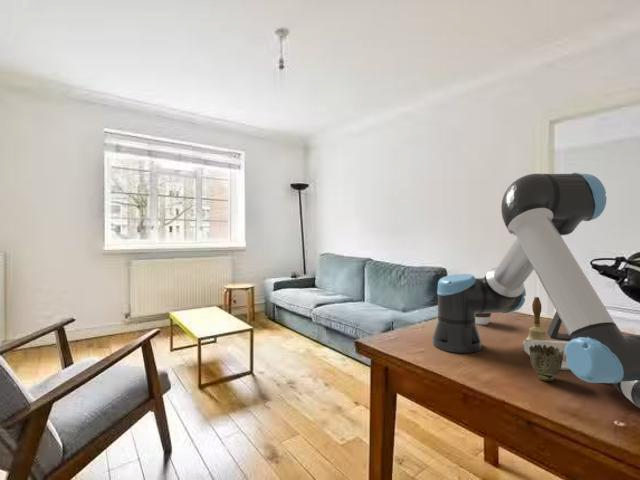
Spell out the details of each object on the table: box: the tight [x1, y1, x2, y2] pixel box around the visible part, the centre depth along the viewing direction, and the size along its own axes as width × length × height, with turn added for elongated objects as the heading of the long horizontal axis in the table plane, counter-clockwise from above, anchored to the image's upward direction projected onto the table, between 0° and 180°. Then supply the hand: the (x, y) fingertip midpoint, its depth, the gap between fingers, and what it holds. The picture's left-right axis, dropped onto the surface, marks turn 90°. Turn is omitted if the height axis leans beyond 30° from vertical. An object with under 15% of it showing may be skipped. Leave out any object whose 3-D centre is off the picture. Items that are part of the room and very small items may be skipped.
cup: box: [529, 344, 564, 382], centre depth 89 cm, size 8×7×8 cm
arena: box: [523, 339, 571, 371], centre depth 101 cm, size 16×14×4 cm
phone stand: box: [546, 310, 571, 341], centre depth 121 cm, size 9×6×12 cm, turn 66°
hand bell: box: [522, 296, 549, 345], centre depth 114 cm, size 8×8×16 cm
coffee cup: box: [475, 313, 492, 326], centre depth 141 cm, size 11×11×12 cm
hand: (589, 347), depth 93 cm, fingers closed on beer can, 5 cm apart
